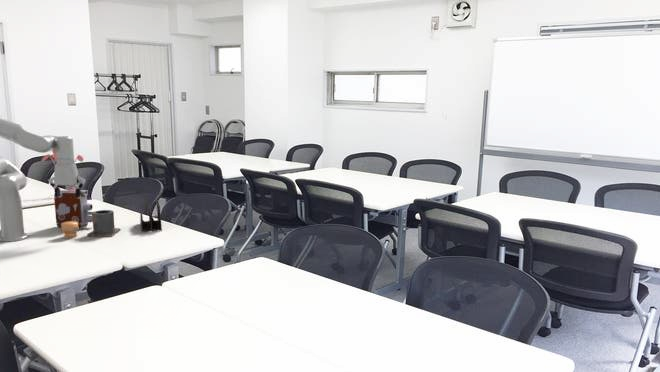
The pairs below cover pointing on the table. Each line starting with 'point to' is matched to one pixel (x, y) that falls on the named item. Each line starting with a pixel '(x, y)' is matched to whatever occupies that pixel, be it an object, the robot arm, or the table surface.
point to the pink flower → (56, 157)
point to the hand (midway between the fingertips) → (68, 196)
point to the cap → (70, 229)
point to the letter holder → (151, 221)
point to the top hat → (103, 224)
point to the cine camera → (72, 208)
